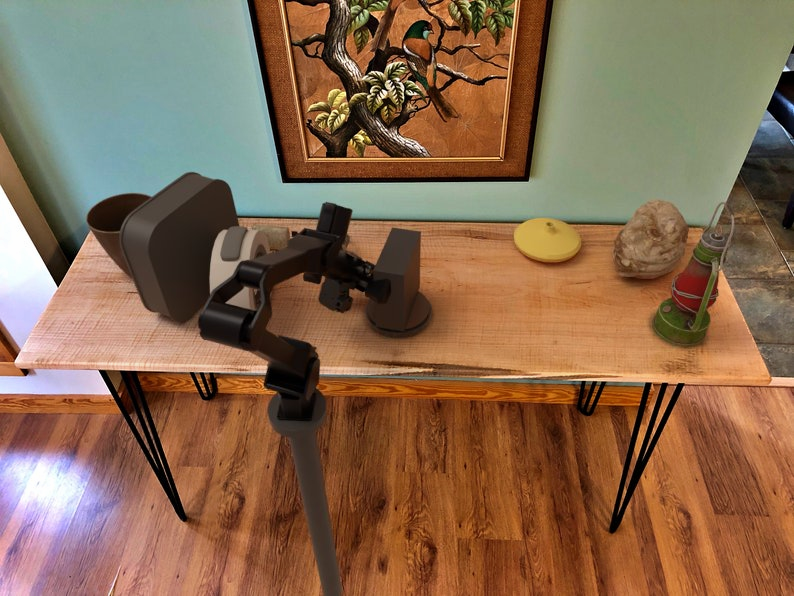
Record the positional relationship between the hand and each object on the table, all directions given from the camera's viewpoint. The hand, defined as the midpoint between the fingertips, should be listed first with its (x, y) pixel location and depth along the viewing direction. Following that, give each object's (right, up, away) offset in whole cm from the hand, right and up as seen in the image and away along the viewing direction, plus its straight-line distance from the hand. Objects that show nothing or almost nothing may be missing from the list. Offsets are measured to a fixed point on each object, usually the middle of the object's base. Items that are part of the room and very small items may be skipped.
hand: (374, 278), depth 130 cm
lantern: (+63, -10, -1) cm, 64 cm away
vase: (+40, +8, +19) cm, 45 cm away
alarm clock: (-27, -7, +4) cm, 28 cm away
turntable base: (+5, -8, +3) cm, 9 cm away
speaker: (-40, -2, +9) cm, 41 cm away
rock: (+61, +3, +14) cm, 63 cm away
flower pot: (-54, +3, +15) cm, 56 cm away
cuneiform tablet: (-24, +7, +19) cm, 32 cm away
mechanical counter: (-10, +7, +19) cm, 22 cm away
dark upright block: (+5, -6, +1) cm, 8 cm away
